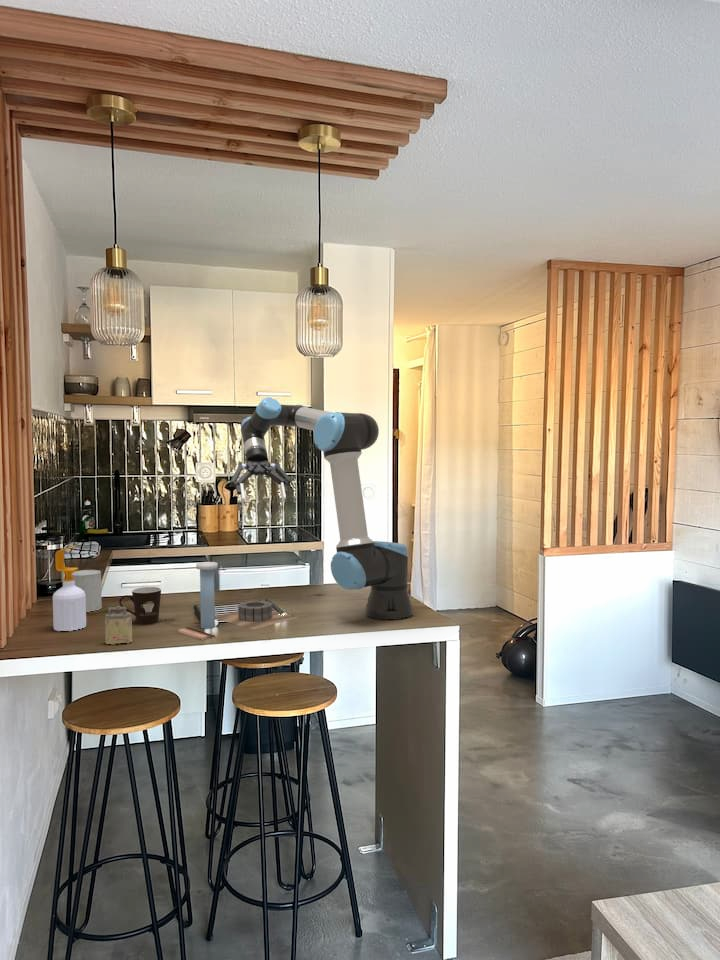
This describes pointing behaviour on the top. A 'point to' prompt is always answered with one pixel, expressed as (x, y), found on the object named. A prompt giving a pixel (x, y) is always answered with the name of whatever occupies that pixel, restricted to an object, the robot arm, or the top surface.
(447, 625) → the top surface
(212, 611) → the peg
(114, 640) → the beige rectangular bottle
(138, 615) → the coffee mug
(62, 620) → the soap bottle
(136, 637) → the top surface
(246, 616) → the eye plate
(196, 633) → the tile
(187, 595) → the top surface
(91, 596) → the grey tapered cup
